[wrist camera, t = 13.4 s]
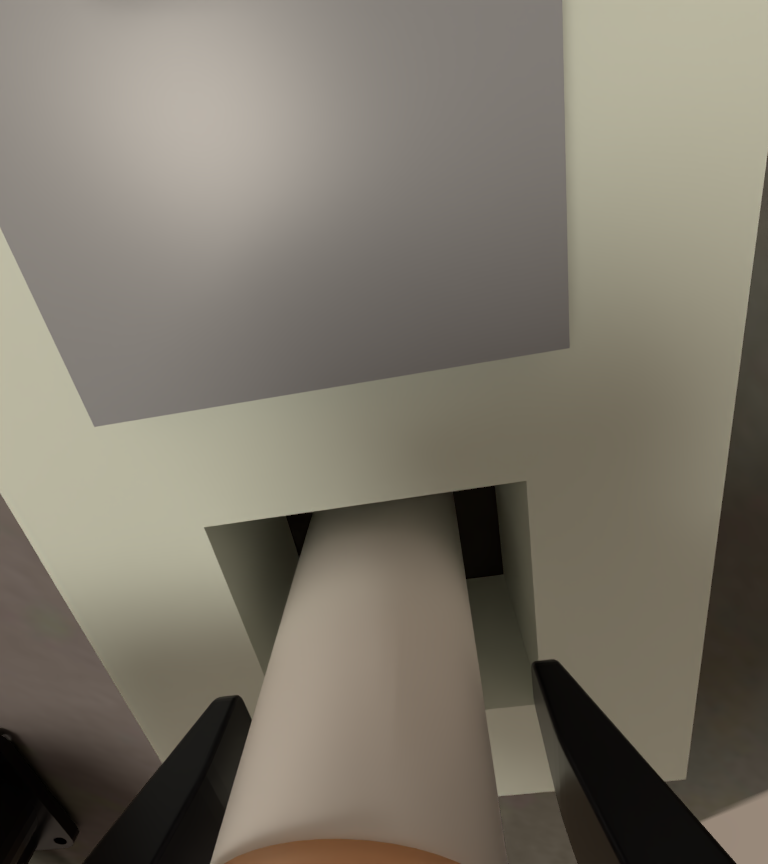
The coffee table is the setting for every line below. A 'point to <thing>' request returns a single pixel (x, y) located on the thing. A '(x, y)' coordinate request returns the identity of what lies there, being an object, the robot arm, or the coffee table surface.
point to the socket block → (459, 431)
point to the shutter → (283, 191)
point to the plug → (370, 704)
